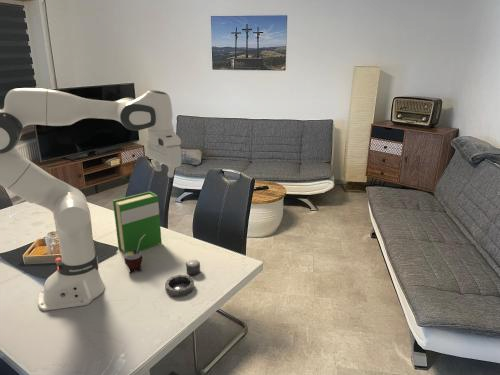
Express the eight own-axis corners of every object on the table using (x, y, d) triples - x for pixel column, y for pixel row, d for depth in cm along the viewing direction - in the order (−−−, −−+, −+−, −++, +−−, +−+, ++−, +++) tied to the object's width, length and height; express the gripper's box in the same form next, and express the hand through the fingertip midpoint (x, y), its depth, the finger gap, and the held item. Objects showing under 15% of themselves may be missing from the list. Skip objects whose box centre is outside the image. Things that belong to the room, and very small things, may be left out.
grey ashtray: (169, 299, 137) (169, 293, 137) (163, 284, 146) (162, 278, 145) (197, 292, 142) (196, 286, 141) (189, 278, 150) (189, 272, 150)
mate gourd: (122, 272, 155) (118, 239, 150) (134, 262, 162) (131, 230, 156) (137, 275, 152) (133, 242, 147) (149, 266, 159) (146, 233, 154)
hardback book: (125, 255, 167) (119, 205, 159) (118, 249, 172) (112, 200, 164) (161, 243, 178) (157, 195, 170) (154, 237, 183) (149, 191, 175)
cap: (188, 277, 151) (188, 267, 150) (185, 270, 156) (184, 260, 155) (201, 274, 154) (201, 264, 152) (197, 267, 158) (197, 258, 157)
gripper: (140, 133, 141) (144, 169, 145) (166, 143, 126) (169, 182, 131) (156, 131, 145) (159, 166, 149) (183, 140, 130) (185, 178, 134)
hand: (164, 173), depth 140 cm, fingers open, 8 cm apart
